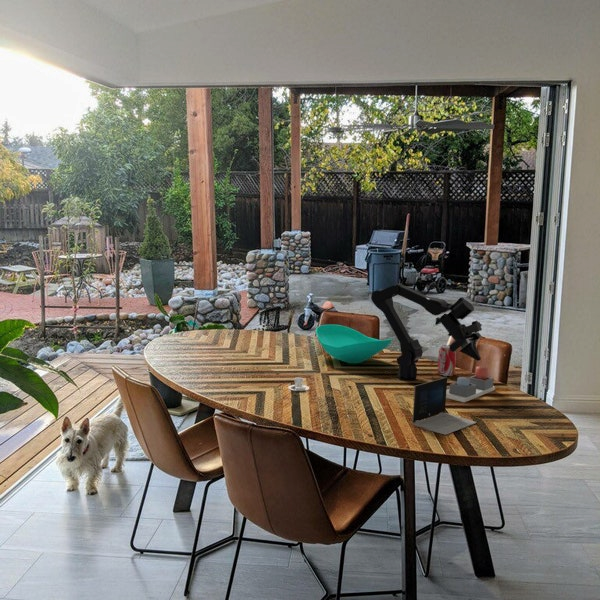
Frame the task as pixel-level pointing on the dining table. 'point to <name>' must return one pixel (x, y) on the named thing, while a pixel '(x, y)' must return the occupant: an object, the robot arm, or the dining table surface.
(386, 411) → the dining table surface
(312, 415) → the dining table surface
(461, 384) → the slate button
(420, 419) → the laptop
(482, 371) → the red button
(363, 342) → the table top decor
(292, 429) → the dining table surface
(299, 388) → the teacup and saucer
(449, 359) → the soda can
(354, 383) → the dining table surface
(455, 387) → the button panel
